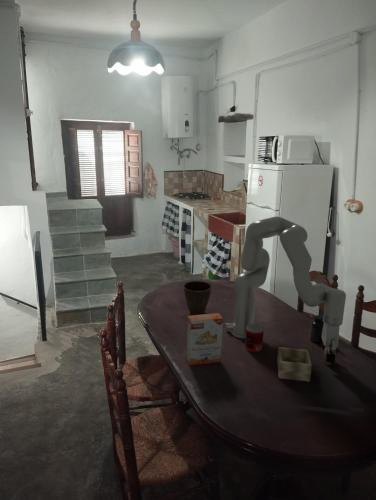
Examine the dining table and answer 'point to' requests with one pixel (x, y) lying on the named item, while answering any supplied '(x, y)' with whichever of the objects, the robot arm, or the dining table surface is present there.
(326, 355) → the lid
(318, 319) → the supplement bottle
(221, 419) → the dining table surface
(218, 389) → the dining table surface
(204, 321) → the cracker box
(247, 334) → the canned food
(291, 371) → the pine box
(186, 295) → the plant pot
